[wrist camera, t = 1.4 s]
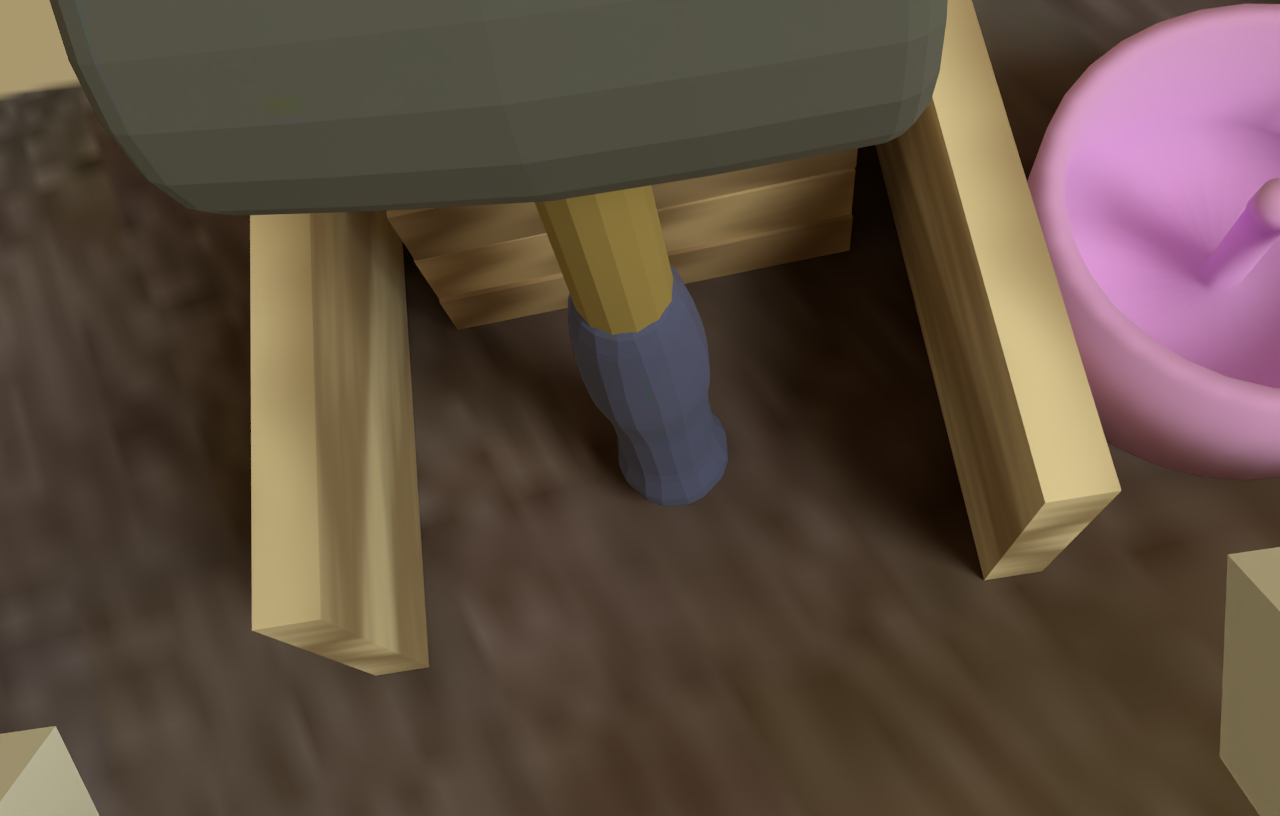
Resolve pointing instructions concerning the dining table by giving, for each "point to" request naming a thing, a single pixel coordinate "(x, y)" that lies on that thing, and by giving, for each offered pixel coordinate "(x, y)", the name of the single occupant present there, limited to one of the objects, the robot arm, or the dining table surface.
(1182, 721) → the dining table surface
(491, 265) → the middle offcut
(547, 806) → the dining table surface
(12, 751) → the robot arm
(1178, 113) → the container set
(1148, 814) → the dining table surface
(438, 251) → the top offcut
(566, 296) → the bottom offcut
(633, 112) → the rubber mallet
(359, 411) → the pine rack
